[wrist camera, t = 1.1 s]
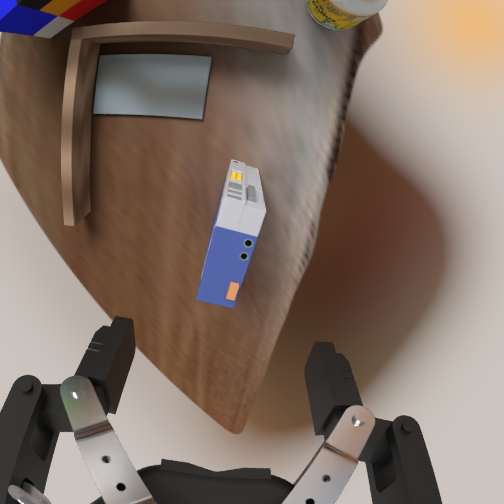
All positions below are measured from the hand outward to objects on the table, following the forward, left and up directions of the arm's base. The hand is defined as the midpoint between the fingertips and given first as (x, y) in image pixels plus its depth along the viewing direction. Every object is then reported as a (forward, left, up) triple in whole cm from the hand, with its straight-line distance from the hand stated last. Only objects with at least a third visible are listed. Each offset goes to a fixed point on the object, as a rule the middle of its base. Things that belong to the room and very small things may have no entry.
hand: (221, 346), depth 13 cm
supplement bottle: (-21, +6, -20) cm, 29 cm away
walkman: (0, 0, -20) cm, 20 cm away
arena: (-7, -7, -20) cm, 22 cm away
